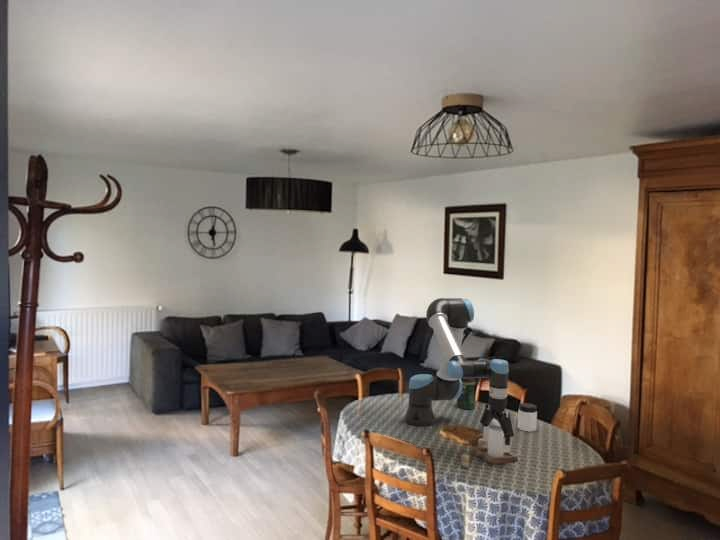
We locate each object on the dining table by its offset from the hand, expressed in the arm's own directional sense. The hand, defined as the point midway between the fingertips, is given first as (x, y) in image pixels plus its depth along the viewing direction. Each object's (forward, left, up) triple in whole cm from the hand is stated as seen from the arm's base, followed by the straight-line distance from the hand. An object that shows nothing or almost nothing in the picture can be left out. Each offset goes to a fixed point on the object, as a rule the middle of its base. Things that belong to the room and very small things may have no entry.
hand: (495, 446), depth 238 cm
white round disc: (-18, +12, -5) cm, 22 cm away
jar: (-27, +39, -5) cm, 48 cm away
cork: (+5, -18, -5) cm, 19 cm away
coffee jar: (-69, +31, -5) cm, 76 cm away
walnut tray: (0, 0, -4) cm, 5 cm away
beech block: (-10, +2, -5) cm, 11 cm away
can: (0, 0, -4) cm, 4 cm away
